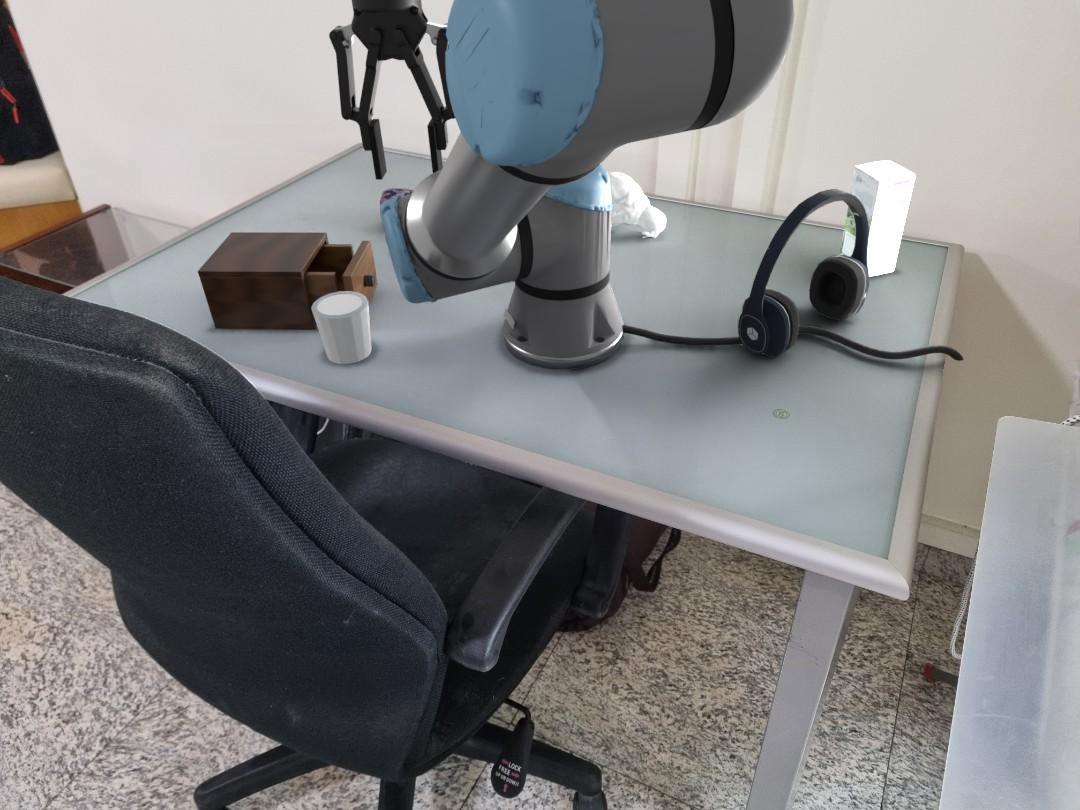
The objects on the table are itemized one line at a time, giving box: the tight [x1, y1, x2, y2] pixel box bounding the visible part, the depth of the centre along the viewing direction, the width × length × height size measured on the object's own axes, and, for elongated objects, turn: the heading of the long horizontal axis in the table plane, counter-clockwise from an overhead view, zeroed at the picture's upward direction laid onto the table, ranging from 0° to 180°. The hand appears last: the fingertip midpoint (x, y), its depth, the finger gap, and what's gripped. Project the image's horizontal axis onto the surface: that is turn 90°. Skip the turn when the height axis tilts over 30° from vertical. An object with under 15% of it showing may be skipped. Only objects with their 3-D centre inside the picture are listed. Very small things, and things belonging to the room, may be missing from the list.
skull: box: [379, 187, 415, 208], centre depth 135 cm, size 12×8×6 cm, turn 54°
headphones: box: [737, 188, 870, 358], centre depth 101 cm, size 20×7×18 cm, turn 127°
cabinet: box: [197, 231, 330, 331], centre depth 114 cm, size 14×12×9 cm
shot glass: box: [311, 291, 373, 365], centre depth 104 cm, size 7×7×7 cm
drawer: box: [304, 240, 379, 317], centre depth 113 cm, size 14×10×7 cm
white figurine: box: [607, 171, 667, 239], centre depth 130 cm, size 6×8×12 cm
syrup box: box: [838, 159, 916, 278], centre depth 116 cm, size 6×6×14 cm
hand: (409, 175), depth 103 cm, fingers open, 6 cm apart
